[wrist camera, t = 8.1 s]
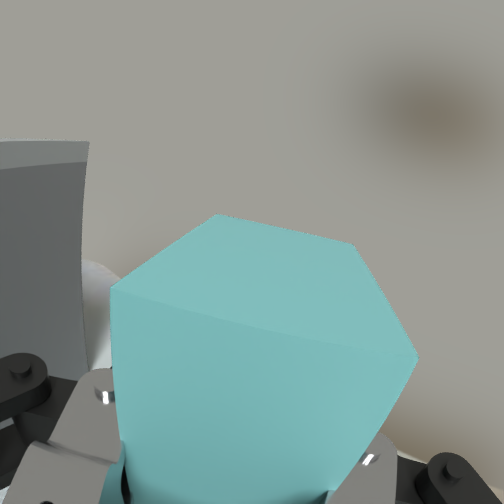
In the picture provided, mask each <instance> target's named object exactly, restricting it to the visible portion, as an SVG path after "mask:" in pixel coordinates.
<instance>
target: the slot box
mask: <svg viewBox="0 0 504 504" xmlns="http://www.w3.org/2000/svg"><path fill="white" fill-rule="evenodd" d="M88 149H89V142H87V141H72V140H53V139H50V140H49V139H15V138H10V139H9V138H7V139H6V138H0V358H3V357H5V356H8V355H11V354H14V353H30V354H34V355H36V356H38V357H40V358H41V359H42V360H43V361H44V362H45V364H46V366H47V369H48V374H49V376H54V377H59V378H64V379H69V380H75V381H79V379H80V378H81V377H82V376H83V375H84V374H86V373H87V372H89V369H88V362H87V353H86V344H85V333H84V320H83V304H82V276H81V244H82V243H81V242H82V215H83V198H84V186H85V175H86V166H87V157H88ZM13 423H14V422H13V420H12V418H9V419H7V420H5V421H3V422H0V429H3V428H5V427H7V426H9V425H11V424H13Z"/></svg>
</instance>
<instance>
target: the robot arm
mask: <svg viewBox="0 0 504 504" xmlns="http://www.w3.org/2000/svg"><path fill="white" fill-rule="evenodd" d="M9 418H12V420H13V422H14V423H13V424H11V425H9V426H7V427H5V428H3V429H0V490H1V489H3V488H5V487H7V486H9V485H10V487H9V489H8V491H7V494H6V496H5V498H4V501H3V503H2V504H134V496H133V492H131V491H130V490H129V485H128V480H127V475H126V470H125V465H124V462H125V458H126V452H125V445H124V441H123V440H120V434H119V427H118V420H117V412H116V403H115V393H114V382H113V370H112V367H111V368H110V369H107V368H103V369H95V370H92V371H90V372H87V373H86V374H84V375H83V376H82V377H81V378H80V379H79V381H75V380H69V379H64V378H59V377H54V376H49V374H48V369H47V366H46V364H45V362H44V361H43V360H42V359H41V358H40V357H38V356H36V355H34V354H30V353H14V354H11V355H8V356H5V357H3V358H0V422H3V421H5V420H7V419H9ZM319 504H502V503H501V502H500V500H499V499H498V498H497V497H496V495H495V494H494V493H493V492H492V490H491V489H490V488H489V487H488V486H487V484H486V483H485V482H484V481H483V480H482V478H481V477H480V476H479V475H478V473H477V472H476V471H475V470H474V469H473V467H472V466H471V465H470V464H469V463H468V462H467V461H466V460H465V459H464V458H462V457H461V456H459V455H457V454H454V453H446V452H445V453H440V454H437V455H435V456H434V457H433V458H432V459H431V460H430V461H429V462H428V463H427V464H424V463H420V462H417V461H413V460H410V459H406V458H403V457H400V456H398V455H397V450H396V448H395V446H394V444H393V443H392V441H391V440H390V439H389V438H388V437H386V436H385V435H383V434H382V433H380V432H377V434H376V435H375V437H374V438H373V440H372V441H371V443H370V444H369V446H368V447H367V449H366V450H365V452H364V453H363V455H362V456H361V458H360V459H359V460H358V462H357V463H356V465H355V466H354V467H353V469H352V470H351V471H350V473H349V474H348V475H347V477H346V478H345V479H344V481H343V482H342V483H341V485H340V486H339V487H338V488H337V490H328V491H327V493H326V494H325V495H324V497H323V498H322V499H321V500H320V502H319Z"/></svg>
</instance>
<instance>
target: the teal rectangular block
mask: <svg viewBox="0 0 504 504" xmlns="http://www.w3.org/2000/svg"><path fill="white" fill-rule="evenodd" d="M110 332H111V354H112V370H113V382H114V393H115V403H116V412H117V420H118V427H119V434H120V440H123V441H124V445H125V452H126V458H125V462H124V465H125V470H126V475H127V480H128V485H129V490H130V491H131V492H133V496H134V504H319V502H320V500H321V499H322V498H323V497H324V495H325V494H326V493H327V491H328V490H337V488H338V487H339V486H340V485H341V483H342V482H343V481H344V479H345V478H346V477H347V475H348V474H349V473H350V471H351V470H352V469H353V467H354V466H355V465H356V463H357V462H358V460H359V459H360V458H361V456H362V455H363V453H364V452H365V450H366V449H367V447H368V446H369V444H370V443H371V441H372V440H373V438H374V437H375V435H376V434H377V432H378V431H379V429H380V427H381V426H382V424H383V423H384V421H385V419H386V418H387V416H388V414H389V413H390V411H391V409H392V408H393V406H394V404H395V402H396V401H397V399H398V397H399V395H400V394H401V392H402V390H403V388H404V386H405V385H406V382H407V381H408V379H409V377H410V375H411V373H412V371H413V369H414V367H415V365H416V363H417V361H418V359H419V356H418V354H417V353H416V350H415V349H414V347H413V345H412V343H411V341H410V340H409V337H408V336H407V334H406V332H405V330H404V329H403V327H402V325H401V323H400V321H399V320H398V318H397V316H396V314H395V313H394V311H393V309H392V307H391V306H390V304H389V302H388V301H387V299H386V297H385V295H384V294H383V292H382V290H381V289H380V287H379V285H378V284H377V282H376V280H375V279H374V277H373V276H372V274H371V272H370V271H369V269H368V267H367V266H366V264H365V263H364V261H363V260H362V258H361V256H360V255H359V253H358V252H357V250H356V248H355V247H354V245H353V244H349V243H345V242H341V241H337V240H332V239H328V238H324V237H320V236H315V235H311V234H307V233H302V232H297V231H293V230H289V229H284V228H280V227H275V226H271V225H266V224H262V223H257V222H252V221H248V220H243V219H239V218H234V217H229V216H224V215H220V214H216V215H215V216H213V217H212V218H210V219H208V220H207V221H206V222H204V223H202V224H201V225H199V226H198V227H197V228H195V229H193V230H192V231H190V232H189V233H187V234H186V235H184V236H183V237H181V238H180V239H178V240H177V241H175V242H174V243H173V244H171V245H170V246H168V247H167V248H165V249H164V250H162V251H161V252H159V253H158V254H157V255H155V256H154V257H152V258H151V259H150V260H148V261H146V262H145V263H144V264H142V265H141V266H139V267H138V268H137V269H135V270H134V271H132V272H131V273H130V274H128V275H127V276H125V277H124V278H122V279H121V280H120V281H118V282H117V283H115V284H114V285H113V286H111V287H110Z"/></svg>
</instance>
